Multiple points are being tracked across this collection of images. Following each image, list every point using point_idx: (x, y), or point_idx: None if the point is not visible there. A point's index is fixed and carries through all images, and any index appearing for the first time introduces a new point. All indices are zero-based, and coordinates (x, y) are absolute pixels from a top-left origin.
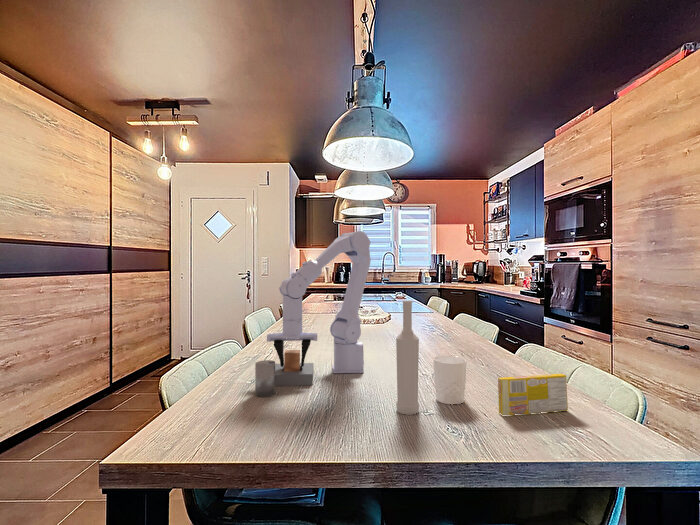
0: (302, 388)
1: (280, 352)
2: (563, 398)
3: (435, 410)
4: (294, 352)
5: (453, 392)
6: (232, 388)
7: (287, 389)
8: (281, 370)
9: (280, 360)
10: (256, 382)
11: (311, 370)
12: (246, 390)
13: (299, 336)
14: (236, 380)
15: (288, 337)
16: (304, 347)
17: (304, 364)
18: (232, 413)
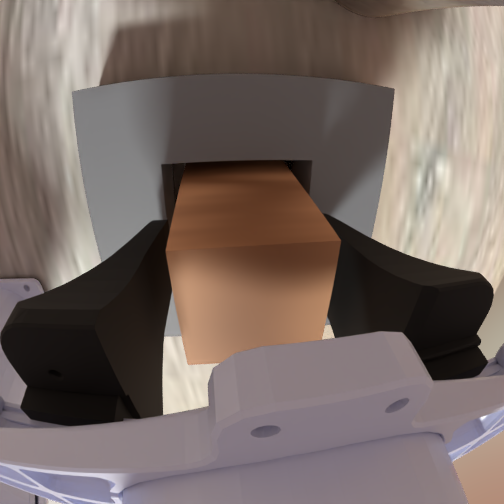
0: (154, 25)
1: (381, 257)
2: None
3: None
4: (227, 287)
5: None
6: (491, 99)
7: (248, 11)
8: (314, 188)
9: (348, 226)
10: None
11: (92, 183)
12: (449, 51)
13: (121, 451)
14: (476, 201)
15: (420, 359)
16: (81, 292)
17: (170, 313)
18: None
